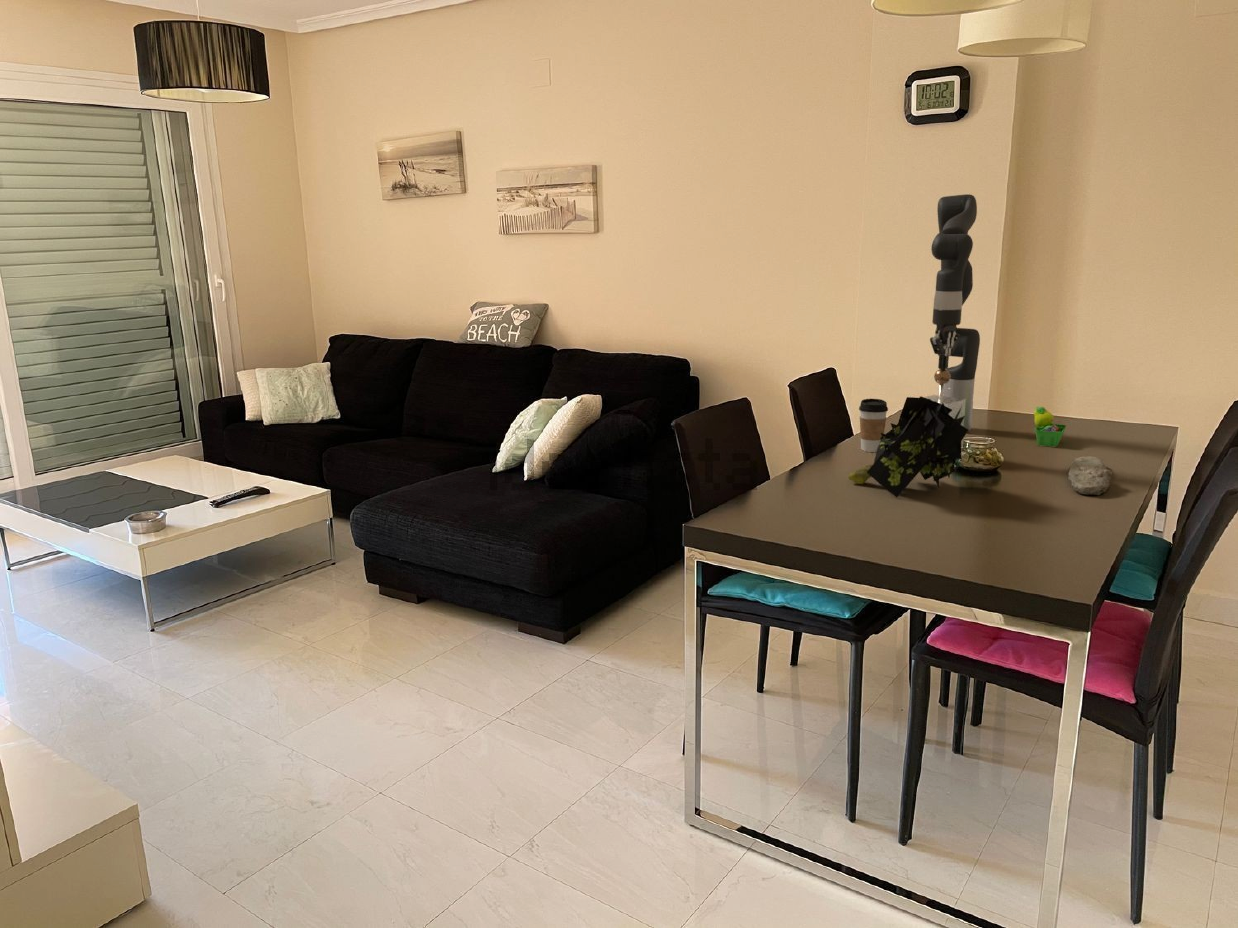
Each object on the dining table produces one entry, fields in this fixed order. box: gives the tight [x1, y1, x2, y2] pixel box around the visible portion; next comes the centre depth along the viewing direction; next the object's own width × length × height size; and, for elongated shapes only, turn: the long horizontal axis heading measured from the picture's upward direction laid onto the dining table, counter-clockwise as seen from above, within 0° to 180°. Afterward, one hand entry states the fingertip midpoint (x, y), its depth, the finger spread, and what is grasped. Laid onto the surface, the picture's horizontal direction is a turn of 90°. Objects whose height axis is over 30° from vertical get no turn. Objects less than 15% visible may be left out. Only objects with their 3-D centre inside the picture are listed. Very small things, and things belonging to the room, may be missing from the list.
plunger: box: [933, 368, 951, 400], centre depth 263 cm, size 7×7×22 cm
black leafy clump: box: [848, 395, 969, 499], centre depth 232 cm, size 21×22×30 cm
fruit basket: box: [1033, 406, 1067, 448], centre depth 280 cm, size 11×9×11 cm
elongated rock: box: [1067, 455, 1113, 496], centre depth 241 cm, size 35×5×10 cm
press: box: [923, 394, 966, 449], centre depth 265 cm, size 10×10×17 cm
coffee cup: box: [858, 398, 889, 453], centre depth 274 cm, size 8×8×15 cm
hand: (942, 368), depth 260 cm, fingers closed
